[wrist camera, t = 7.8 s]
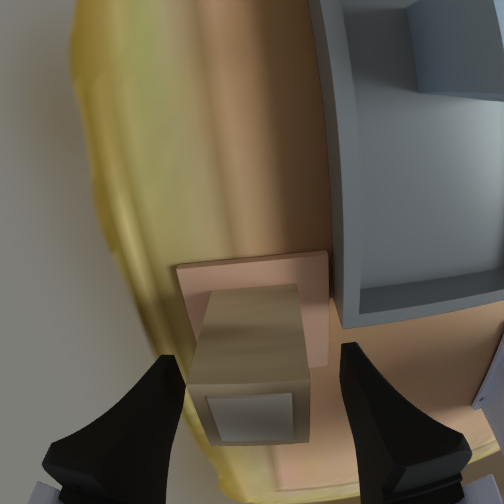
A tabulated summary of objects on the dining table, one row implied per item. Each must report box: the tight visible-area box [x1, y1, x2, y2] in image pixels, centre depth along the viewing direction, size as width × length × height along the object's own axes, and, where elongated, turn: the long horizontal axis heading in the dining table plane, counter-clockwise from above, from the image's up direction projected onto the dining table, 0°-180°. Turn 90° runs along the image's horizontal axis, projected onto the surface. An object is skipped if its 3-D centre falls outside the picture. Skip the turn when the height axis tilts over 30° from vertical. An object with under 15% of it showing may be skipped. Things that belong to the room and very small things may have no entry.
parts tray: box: [308, 0, 504, 329], centre depth 11 cm, size 16×12×2 cm
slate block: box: [406, 0, 504, 102], centre depth 7 cm, size 4×4×6 cm
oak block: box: [186, 284, 310, 446], centre depth 13 cm, size 4×4×6 cm
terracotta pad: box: [176, 250, 329, 368], centre depth 16 cm, size 7×7×1 cm
